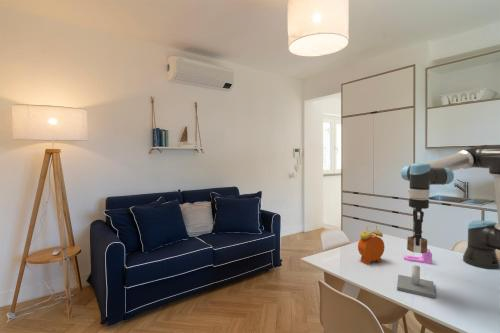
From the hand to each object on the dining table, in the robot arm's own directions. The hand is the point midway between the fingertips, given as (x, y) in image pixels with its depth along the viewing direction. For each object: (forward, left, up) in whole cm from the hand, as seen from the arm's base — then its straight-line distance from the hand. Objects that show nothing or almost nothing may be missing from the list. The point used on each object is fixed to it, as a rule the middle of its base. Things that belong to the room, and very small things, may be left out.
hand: (416, 249), depth 122 cm
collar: (0, 0, 0) cm, 0 cm away
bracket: (-1, -36, -18) cm, 40 cm away
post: (0, 0, -17) cm, 17 cm away
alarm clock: (+21, -22, -17) cm, 35 cm away
